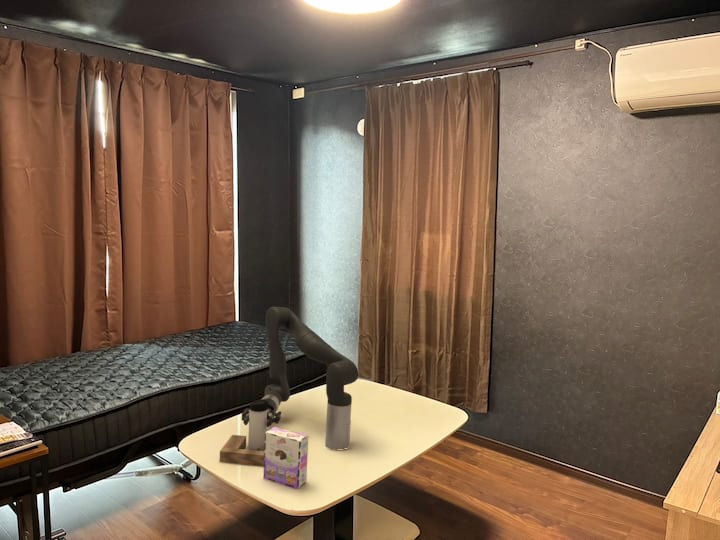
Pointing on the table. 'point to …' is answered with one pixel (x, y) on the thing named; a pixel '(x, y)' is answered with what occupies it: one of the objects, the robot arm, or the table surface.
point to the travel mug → (257, 425)
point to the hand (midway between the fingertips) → (256, 423)
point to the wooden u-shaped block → (240, 452)
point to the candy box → (285, 457)
